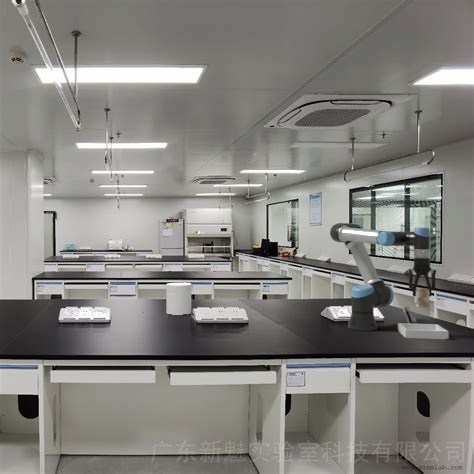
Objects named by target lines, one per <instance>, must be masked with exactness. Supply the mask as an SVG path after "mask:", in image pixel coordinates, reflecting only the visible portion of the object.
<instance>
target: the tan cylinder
mask: <svg viewBox="0 0 474 474" xmlns="http://www.w3.org/2000/svg"><path fill="white" fill-rule="evenodd" d="M416 290H418V303H415V306H416V307H418V308H429V304H430V297H429V289H428V288H425V287H421V288H419V287H417V288H416Z"/></svg>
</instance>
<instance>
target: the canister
mask: <svg viewBox="0 0 474 474" xmlns="http://www.w3.org/2000/svg"><path fill="white" fill-rule="evenodd" d="M165 296H166V298H165V299H166V305H165V306H166V309H165V310H166V311H165V312H166V313H167V314H172V315H183V314H190V313H191V314H192V283H190V282H171V283H170V282H169V283H166V295H165Z"/></svg>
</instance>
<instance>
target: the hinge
mask: <svg viewBox="0 0 474 474" xmlns="http://www.w3.org/2000/svg"><path fill="white" fill-rule="evenodd" d="M402 312H403V313H404V316H405V320H406V321H407V323H411V324H414V323H415V324H418V323H417V319H416V318H415V317H416V316H414V315H412V312H411V309H410V307H409V305H406V307H405V306H404V307H402Z"/></svg>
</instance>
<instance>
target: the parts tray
mask: <svg viewBox="0 0 474 474" xmlns="http://www.w3.org/2000/svg"><path fill="white" fill-rule="evenodd" d="M397 331H398V333H400V334H401V335H402V336H403V337H404V338H405V339H419V340H422V339H423V340H445V339H450V337H449V330H447V329H446V328H444V327H442V326H441V325H439V324H437V323H436V324H435V323H417V324H416V323H412V322H411V323H408V322H407V323H405V322H404V323H402V322H398V323H397Z"/></svg>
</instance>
